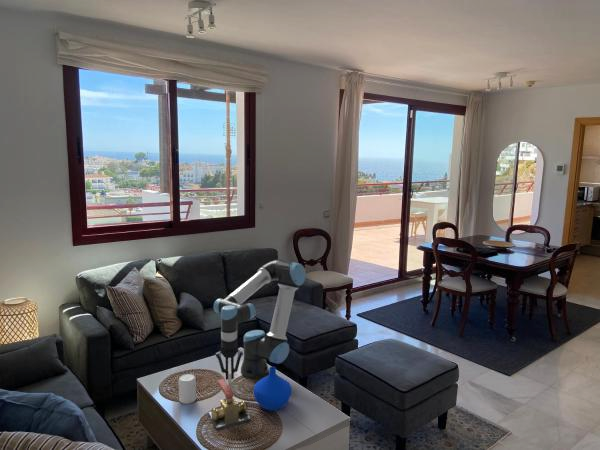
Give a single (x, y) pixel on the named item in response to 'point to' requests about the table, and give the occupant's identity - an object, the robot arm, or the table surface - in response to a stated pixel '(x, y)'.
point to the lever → (225, 388)
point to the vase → (272, 391)
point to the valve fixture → (229, 413)
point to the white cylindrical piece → (187, 388)
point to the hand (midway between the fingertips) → (229, 385)
